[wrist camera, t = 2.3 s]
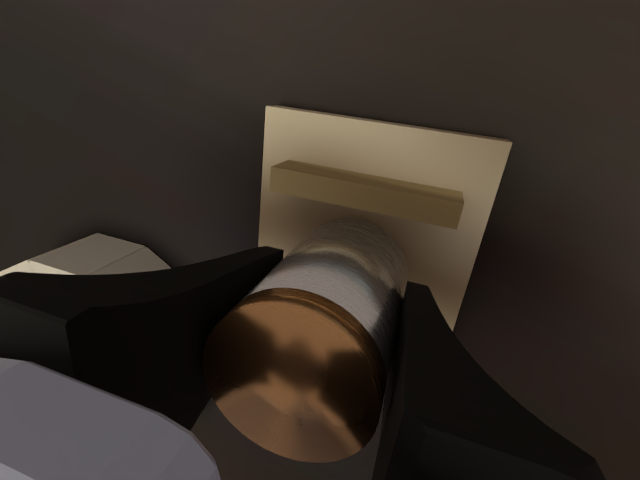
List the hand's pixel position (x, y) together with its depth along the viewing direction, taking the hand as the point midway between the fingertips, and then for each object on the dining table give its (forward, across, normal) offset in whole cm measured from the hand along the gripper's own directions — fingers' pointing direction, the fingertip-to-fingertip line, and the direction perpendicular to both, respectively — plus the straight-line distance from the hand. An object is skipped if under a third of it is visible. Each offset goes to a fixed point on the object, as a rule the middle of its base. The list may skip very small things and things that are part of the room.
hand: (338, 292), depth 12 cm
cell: (+2, 0, 0) cm, 2 cm away
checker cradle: (+3, 0, 0) cm, 3 cm away
